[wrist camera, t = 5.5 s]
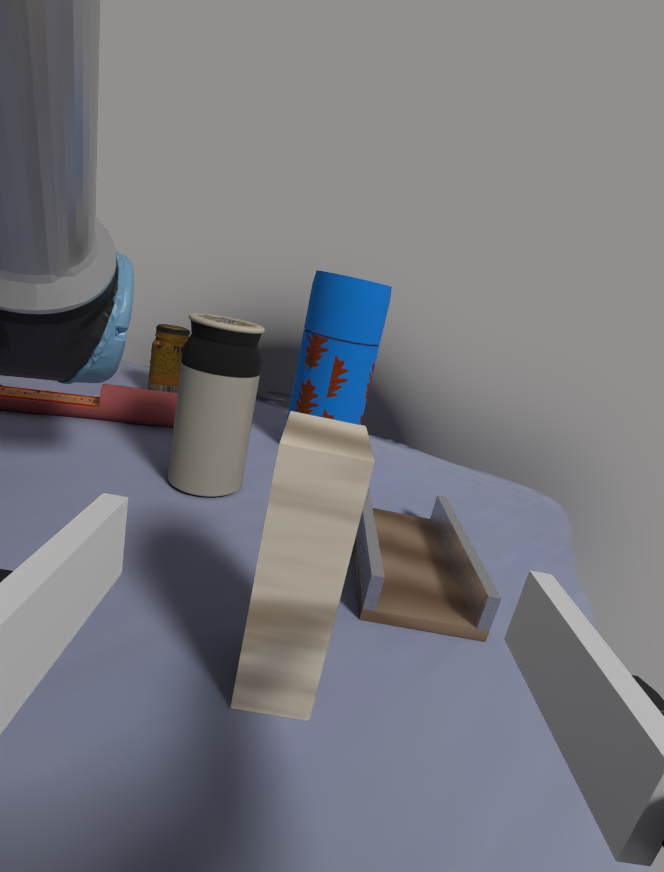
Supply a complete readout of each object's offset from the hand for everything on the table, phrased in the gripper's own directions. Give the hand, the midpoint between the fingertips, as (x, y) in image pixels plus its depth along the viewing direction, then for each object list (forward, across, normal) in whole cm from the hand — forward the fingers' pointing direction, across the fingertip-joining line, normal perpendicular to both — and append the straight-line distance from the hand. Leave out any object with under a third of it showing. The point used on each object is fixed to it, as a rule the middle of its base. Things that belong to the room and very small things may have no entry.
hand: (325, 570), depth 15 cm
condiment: (+66, -25, -14) cm, 72 cm away
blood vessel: (+48, -36, -14) cm, 62 cm away
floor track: (+26, +10, -14) cm, 31 cm away
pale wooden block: (+11, 0, -14) cm, 18 cm away
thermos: (+54, +1, -14) cm, 56 cm away
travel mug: (+35, -11, -14) cm, 40 cm away
